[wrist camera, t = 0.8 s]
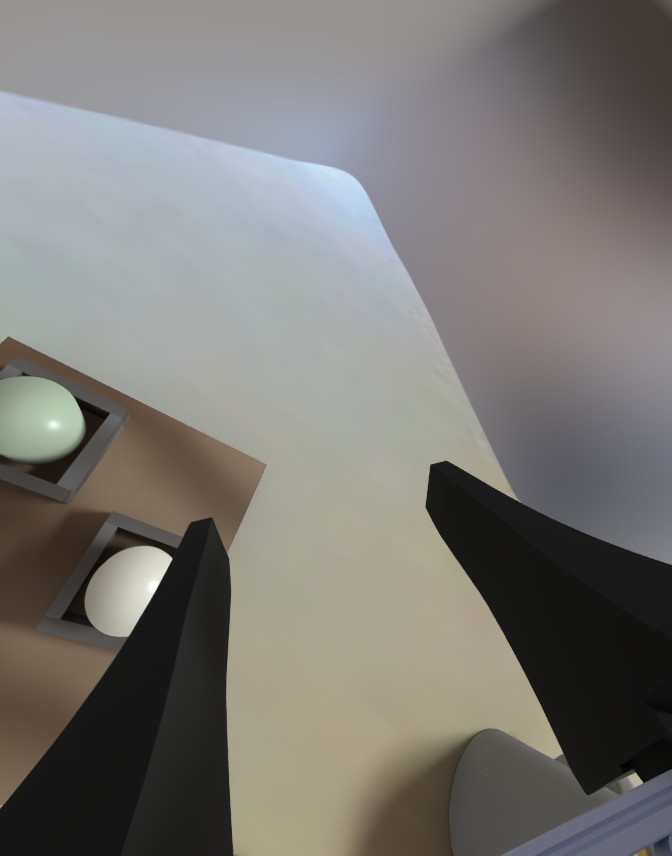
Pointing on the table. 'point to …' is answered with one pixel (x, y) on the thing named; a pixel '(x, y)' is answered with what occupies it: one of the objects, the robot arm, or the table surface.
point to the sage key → (38, 421)
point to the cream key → (124, 588)
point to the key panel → (90, 543)
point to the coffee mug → (515, 796)
